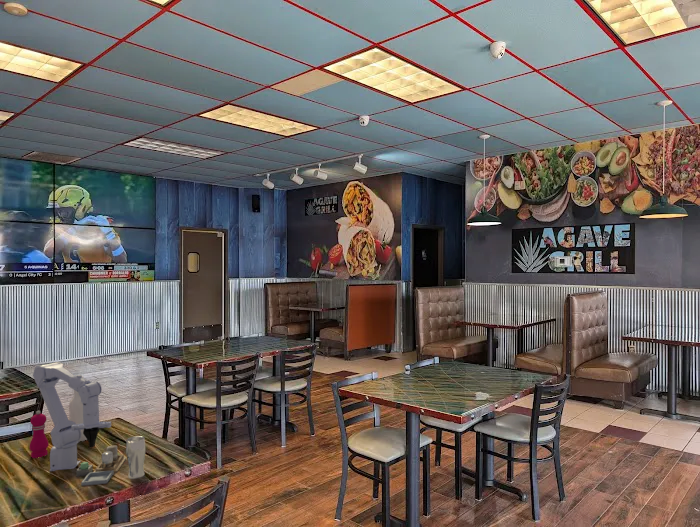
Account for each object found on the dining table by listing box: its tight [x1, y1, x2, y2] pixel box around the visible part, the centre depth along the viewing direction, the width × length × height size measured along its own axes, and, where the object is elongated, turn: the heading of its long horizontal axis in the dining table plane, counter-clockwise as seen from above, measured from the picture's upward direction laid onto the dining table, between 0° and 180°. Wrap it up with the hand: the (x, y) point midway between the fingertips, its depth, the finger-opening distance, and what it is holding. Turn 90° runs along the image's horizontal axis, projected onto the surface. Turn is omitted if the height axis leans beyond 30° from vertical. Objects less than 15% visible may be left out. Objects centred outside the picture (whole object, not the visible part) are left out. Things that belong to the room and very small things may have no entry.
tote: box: [80, 470, 115, 487], centre depth 195 cm, size 9×9×2 cm
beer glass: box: [125, 435, 146, 480], centre depth 198 cm, size 7×7×15 cm
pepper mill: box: [28, 410, 50, 459], centre depth 222 cm, size 7×7×20 cm
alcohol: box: [68, 376, 88, 443], centre depth 241 cm, size 9×9×30 cm
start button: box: [80, 461, 89, 469], centre depth 201 cm, size 3×3×4 cm
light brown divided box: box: [93, 444, 127, 473], centre depth 208 cm, size 9×14×7 cm, turn 10°
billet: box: [101, 451, 113, 468], centre depth 204 cm, size 4×4×6 cm
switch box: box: [75, 464, 94, 477], centre depth 201 cm, size 5×5×3 cm
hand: (92, 446), depth 203 cm, fingers closed
